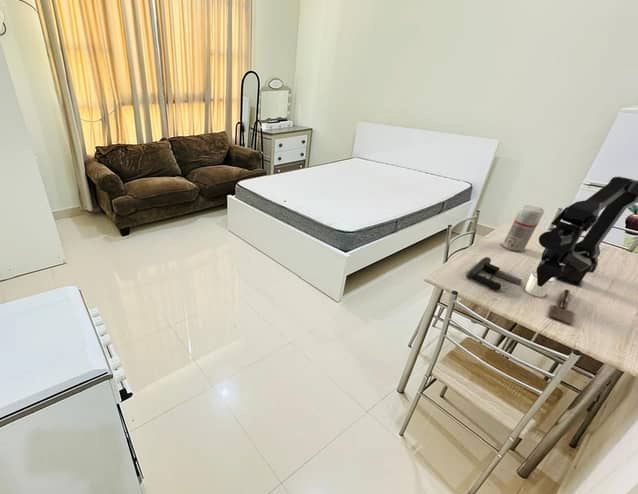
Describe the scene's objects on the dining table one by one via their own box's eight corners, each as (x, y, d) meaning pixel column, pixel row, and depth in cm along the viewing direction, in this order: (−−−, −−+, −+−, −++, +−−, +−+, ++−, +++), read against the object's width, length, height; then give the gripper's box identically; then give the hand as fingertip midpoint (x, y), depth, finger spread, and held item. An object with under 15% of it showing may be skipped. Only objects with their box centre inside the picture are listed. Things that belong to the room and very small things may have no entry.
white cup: (532, 297, 114) (541, 281, 111) (518, 286, 120) (526, 270, 117) (552, 298, 114) (562, 282, 111) (537, 286, 120) (546, 271, 116)
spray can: (528, 253, 142) (550, 211, 132) (507, 251, 143) (528, 210, 133) (518, 244, 149) (538, 204, 139) (498, 242, 151) (517, 202, 141)
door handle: (528, 272, 124) (481, 254, 134) (512, 292, 113) (463, 270, 123) (523, 279, 126) (478, 260, 136) (507, 299, 115) (460, 277, 125)
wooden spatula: (574, 295, 115) (577, 292, 115) (569, 324, 102) (572, 321, 101) (556, 289, 118) (558, 286, 118) (549, 317, 105) (552, 313, 104)
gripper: (596, 261, 96) (569, 302, 104) (597, 241, 107) (573, 279, 115) (548, 248, 103) (526, 287, 111) (554, 231, 114) (534, 267, 122)
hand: (541, 280), depth 114 cm, fingers open, 9 cm apart
